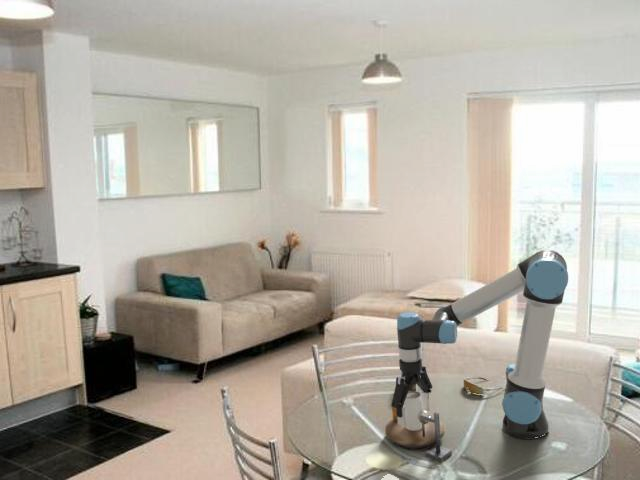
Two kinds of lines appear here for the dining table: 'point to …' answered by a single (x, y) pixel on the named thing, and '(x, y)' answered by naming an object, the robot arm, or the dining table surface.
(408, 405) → the can
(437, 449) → the dial indicator stand
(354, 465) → the dining table surface
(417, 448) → the turntable base
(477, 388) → the sunglasses
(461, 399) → the dining table surface
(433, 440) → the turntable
